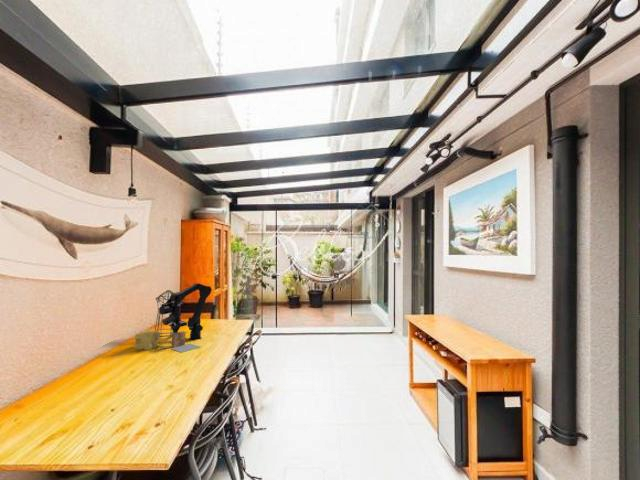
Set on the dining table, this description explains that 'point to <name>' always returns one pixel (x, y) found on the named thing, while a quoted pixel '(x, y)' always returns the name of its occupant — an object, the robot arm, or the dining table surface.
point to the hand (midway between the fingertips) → (174, 335)
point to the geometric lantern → (162, 315)
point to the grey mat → (185, 348)
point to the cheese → (146, 340)
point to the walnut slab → (178, 339)
